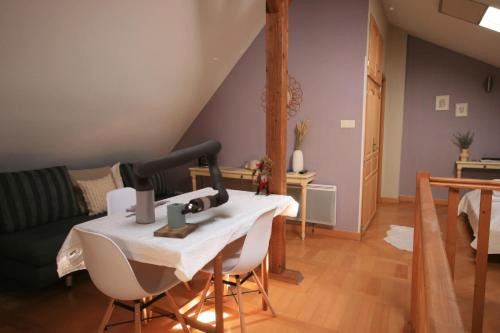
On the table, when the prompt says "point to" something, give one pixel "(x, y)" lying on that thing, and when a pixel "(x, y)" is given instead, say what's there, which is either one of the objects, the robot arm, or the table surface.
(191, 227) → the peg board
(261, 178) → the figurine
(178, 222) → the collar
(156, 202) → the adjustable rod
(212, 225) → the table surface
